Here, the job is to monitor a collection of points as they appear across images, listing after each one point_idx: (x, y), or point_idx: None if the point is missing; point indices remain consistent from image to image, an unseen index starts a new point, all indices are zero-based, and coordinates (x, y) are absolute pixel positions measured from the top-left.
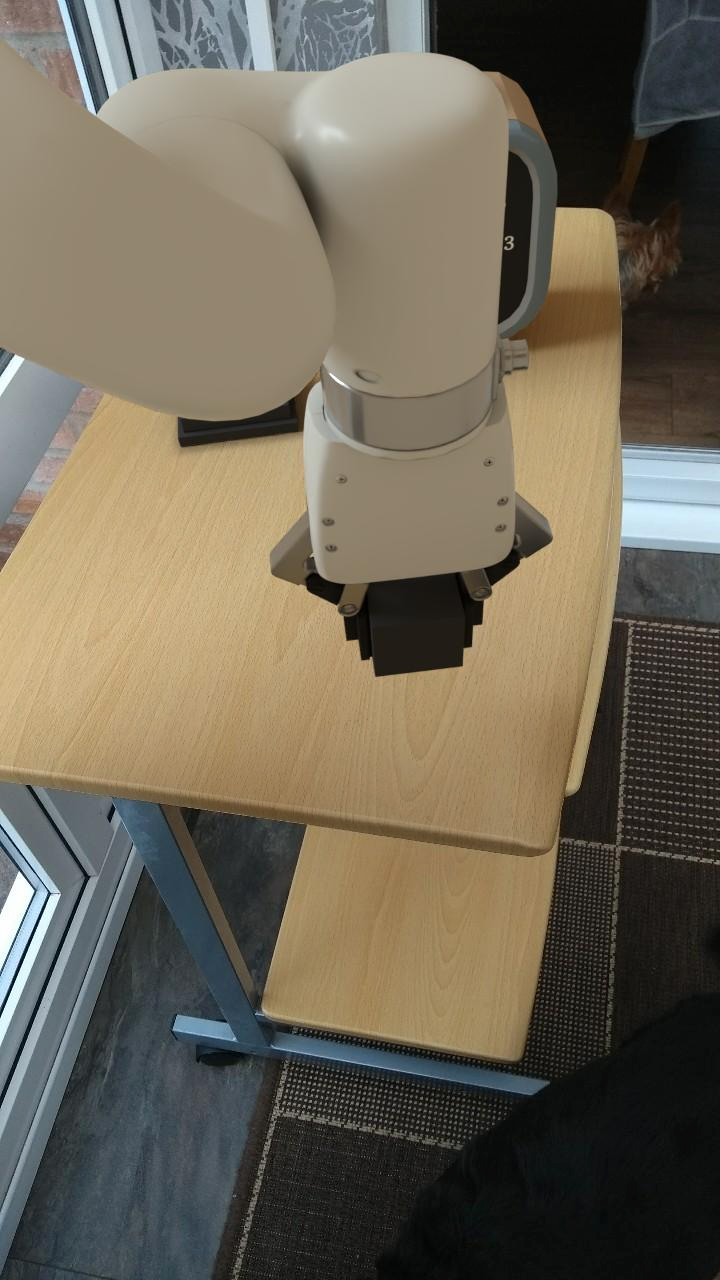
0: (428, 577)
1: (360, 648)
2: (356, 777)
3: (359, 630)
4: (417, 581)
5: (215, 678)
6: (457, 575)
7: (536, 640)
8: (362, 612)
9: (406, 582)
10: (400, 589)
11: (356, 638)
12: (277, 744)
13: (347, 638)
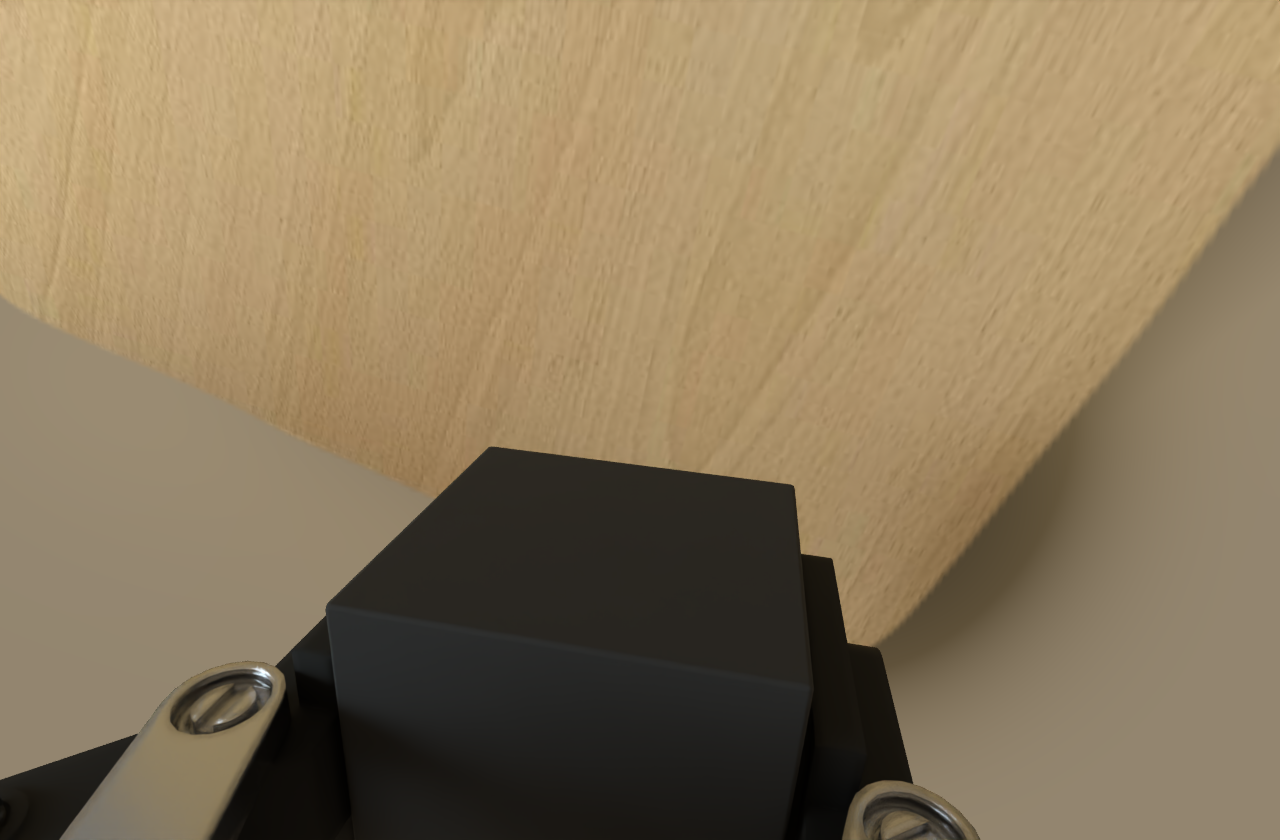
0: (641, 816)
1: None
2: None
3: None
4: (584, 814)
5: (289, 172)
6: (801, 798)
7: (1067, 244)
8: (340, 832)
9: (531, 801)
10: (497, 825)
11: None
12: (418, 373)
13: None
